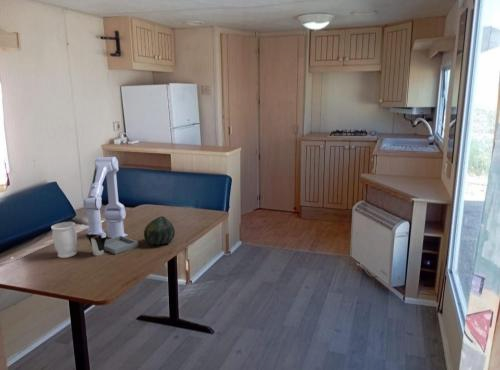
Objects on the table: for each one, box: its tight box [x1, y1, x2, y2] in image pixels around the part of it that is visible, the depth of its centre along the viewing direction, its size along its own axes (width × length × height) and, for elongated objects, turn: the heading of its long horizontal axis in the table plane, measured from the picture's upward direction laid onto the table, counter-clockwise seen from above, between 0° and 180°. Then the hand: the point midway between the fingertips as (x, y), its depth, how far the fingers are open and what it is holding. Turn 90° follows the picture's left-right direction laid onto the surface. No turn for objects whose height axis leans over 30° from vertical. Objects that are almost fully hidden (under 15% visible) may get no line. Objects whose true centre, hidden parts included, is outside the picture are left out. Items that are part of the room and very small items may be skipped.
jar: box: [50, 221, 78, 259], centre depth 190 cm, size 11×10×15 cm
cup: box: [91, 236, 105, 257], centre depth 191 cm, size 5×5×8 cm
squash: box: [143, 216, 176, 246], centre depth 202 cm, size 14×15×15 cm
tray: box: [104, 236, 139, 255], centre depth 199 cm, size 15×13×2 cm
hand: (97, 248), depth 191 cm, fingers open, 6 cm apart
